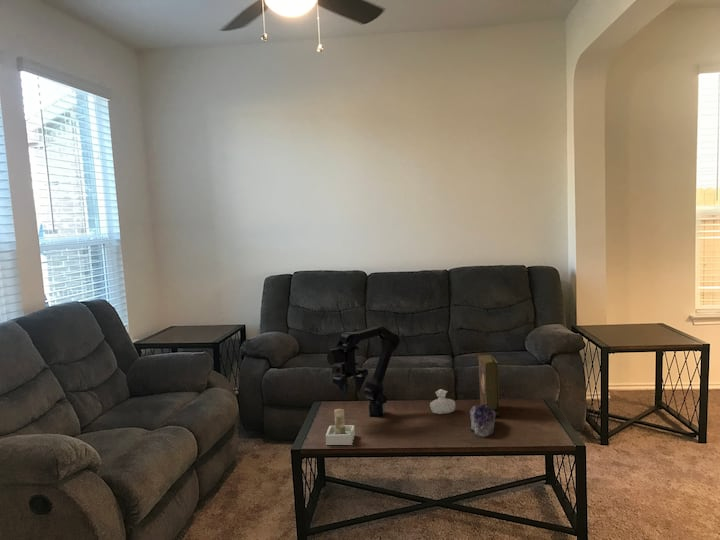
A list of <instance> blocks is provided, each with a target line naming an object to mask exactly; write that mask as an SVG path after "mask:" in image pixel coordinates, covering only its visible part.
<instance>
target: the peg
mask: <svg viewBox="0 0 720 540" xmlns="http://www.w3.org/2000/svg"><path fill="white" fill-rule="evenodd" d="M333 412H334V426H335V431H336V435H339V434H345V425H346V422H345V421H346V419H345V410H344V408H336V409H334V411H333Z"/></svg>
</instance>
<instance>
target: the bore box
mask: <svg viewBox="0 0 720 540" xmlns="http://www.w3.org/2000/svg"><path fill="white" fill-rule="evenodd" d="M354 436H356V432H355V425H353V424H352V425H351V424H349V425H348V424H347V425H346V424H345V434H339V435H336V431H335V425H329V426H328V428H327V431H326V434H325V446H326V445H352V446H353V444H352V443H354V441H353V440H355V437H354Z"/></svg>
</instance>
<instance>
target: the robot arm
mask: <svg viewBox="0 0 720 540" xmlns="http://www.w3.org/2000/svg"><path fill="white" fill-rule="evenodd" d="M375 337H378V338H379V339H380V341H381V342H380V346H381V347H380V348H381V353H380V355H379V358H378V362H377V365H376V368H375V369H374V373H373V376H372V379H370V381H366V383H365V386H364V388H363V394H364V397H365V398H366V400H367V402H369V405H368V413H369V415H368V416H369V417H373V416H376V418H383V417H384V416H385V414H387V412H386V407H385V404H386V403H387V401H388V397H387V396H385V395H384V394H383V393H384V386H383V385H384V384H383V381H384V379H385V375H386V372H387V369H388V368H389V367H388V366H389V364H390V360H391V357H392V354H393V353H394V352H395V351H396V350H398V349H397V348H398V347H399V344H400V343H401V339H400V337H399V335H398V334H396V333H395V334H394V333H393V332H392V331H390V330H388V328H386V327H385V326H383V325H375V326H373V327H369V328H367V329H362V330H358V331H345V332H342V333H341V334H340V337H339V339H338V341H337V343H336V345H335V348H331V349H329V350H328V351H329V352H328V353H327V355H326V361H327V363H328V364H329V365H330V366H331V373H332V374H333V375H335V376H333V377H332V379H331V381H332V384H334V385H336V386H338V387H339V390H340V392H341V395H342V396H343V398H347V395H348V387H349V383H348V380H350V379H352V378H353V379H354V380H355V389H356V393H360V391H361V389H362V386H363V384H364V382H365V380H366V379H367V376H369V370H368V369H367V368H365V367H364V368H363V367H357V366H358V365H359V362H358V361H357V356H356V350H358V351H359V350H360V347H359V346H357V345H358V344H360V343H361V342H363V341H365V340H368V339H372V338H375ZM338 364H340V366H337V365H338Z"/></svg>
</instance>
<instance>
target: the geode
mask: <svg viewBox="0 0 720 540" xmlns="http://www.w3.org/2000/svg"><path fill="white" fill-rule="evenodd" d="M469 416H470V417H469V420H470V423H471V425H470V431H472V432H474V436H475V437H477V438H480V439H481V438H482V439H487V438H488V437H491V436H492V435H493V434H494V431H495V430H494V429H495V423H496V417H497V416H496V411H494V410H492V409H490V407H489V406H487V405H486V404H484V405H483V404H482V405H480V404H479V405H478V406H477V405H473V406H472V407H471V409H470V410H469Z"/></svg>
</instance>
